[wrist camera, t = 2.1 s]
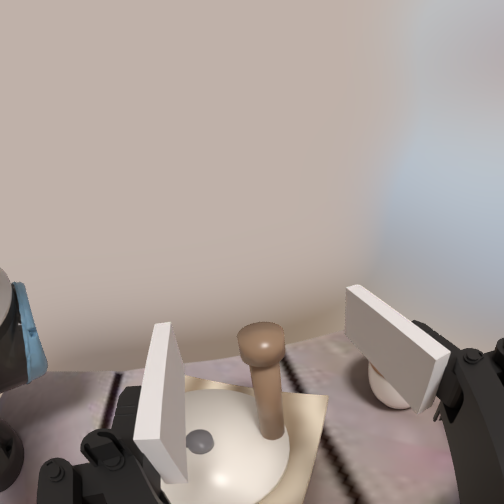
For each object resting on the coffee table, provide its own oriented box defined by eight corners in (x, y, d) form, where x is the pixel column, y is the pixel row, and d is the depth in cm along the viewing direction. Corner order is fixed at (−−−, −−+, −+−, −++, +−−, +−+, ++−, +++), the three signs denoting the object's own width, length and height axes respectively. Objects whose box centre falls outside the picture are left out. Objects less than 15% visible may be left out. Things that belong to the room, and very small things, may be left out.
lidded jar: (347, 389, 34) (353, 335, 32) (401, 360, 37) (410, 308, 35) (395, 435, 24) (414, 381, 22) (449, 394, 27) (468, 339, 25)
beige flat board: (75, 488, 18) (68, 481, 18) (173, 378, 41) (170, 370, 40) (274, 578, 10) (272, 577, 10) (327, 403, 32) (328, 394, 32)
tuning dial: (106, 516, 15) (16, 430, 11) (124, 402, 33) (85, 313, 29) (317, 498, 18) (329, 408, 14) (270, 382, 36) (258, 286, 32)
